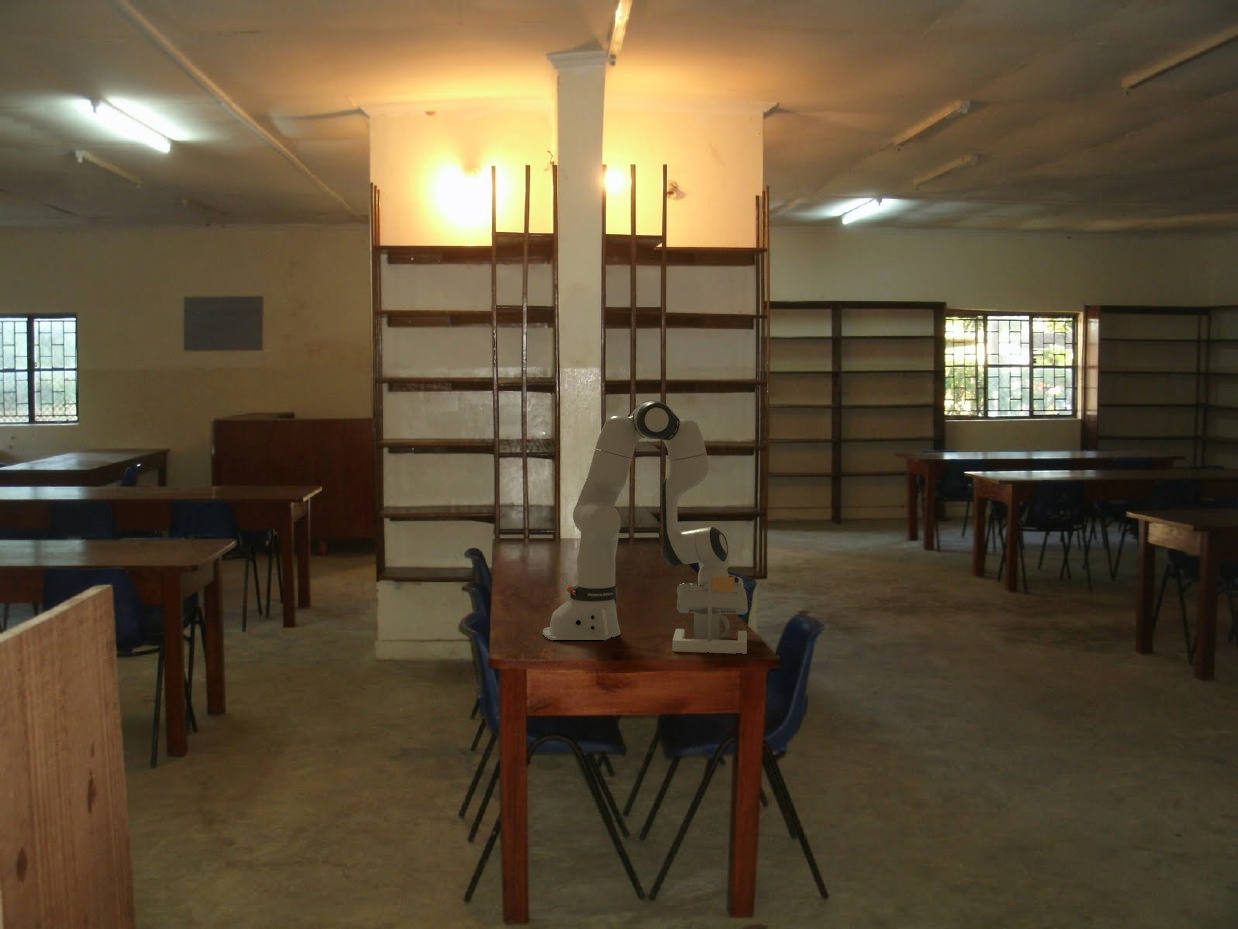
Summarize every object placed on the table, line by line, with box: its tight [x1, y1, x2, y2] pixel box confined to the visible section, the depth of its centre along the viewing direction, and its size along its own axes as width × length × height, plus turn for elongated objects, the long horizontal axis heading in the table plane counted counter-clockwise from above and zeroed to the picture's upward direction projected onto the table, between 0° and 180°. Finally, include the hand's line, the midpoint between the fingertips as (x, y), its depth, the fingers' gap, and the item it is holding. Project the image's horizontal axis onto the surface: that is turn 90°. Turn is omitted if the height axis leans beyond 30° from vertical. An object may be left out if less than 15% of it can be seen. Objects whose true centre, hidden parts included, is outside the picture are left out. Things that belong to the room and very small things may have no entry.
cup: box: [693, 609, 731, 640], centre depth 302 cm, size 7×10×9 cm
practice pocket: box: [671, 574, 748, 655], centre depth 297 cm, size 14×20×21 cm
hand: (711, 624), depth 306 cm, fingers closed
